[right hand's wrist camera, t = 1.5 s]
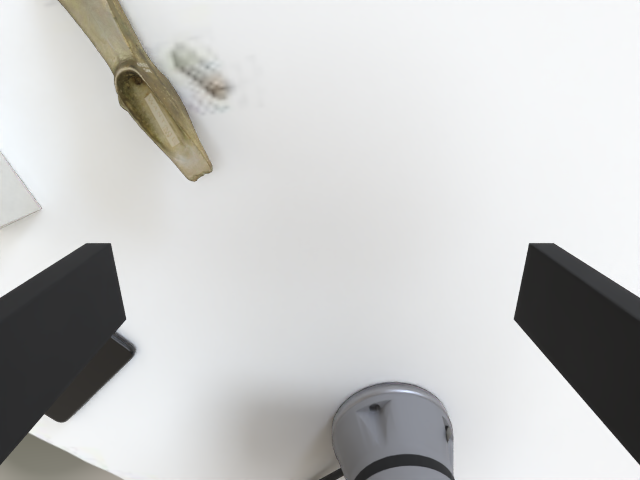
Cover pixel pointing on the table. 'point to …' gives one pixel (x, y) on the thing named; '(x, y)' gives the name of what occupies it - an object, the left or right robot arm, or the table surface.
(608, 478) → the table surface
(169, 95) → the tool
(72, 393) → the smartphone
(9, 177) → the bar
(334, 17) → the table surface
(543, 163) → the table surface
